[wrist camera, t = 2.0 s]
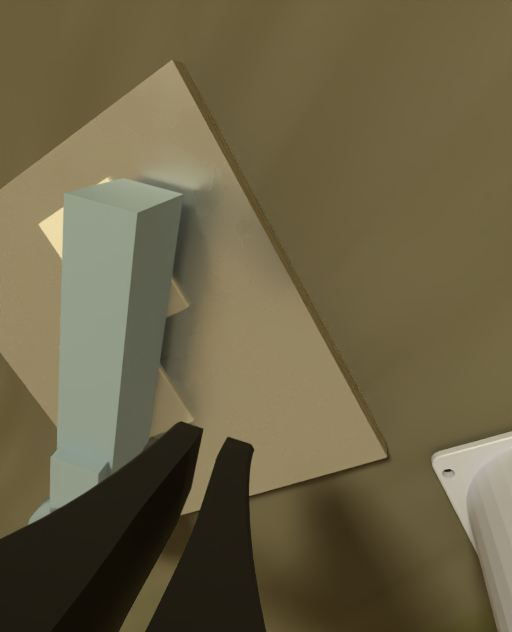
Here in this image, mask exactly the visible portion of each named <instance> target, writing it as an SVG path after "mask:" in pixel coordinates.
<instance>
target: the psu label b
mask: <svg viewBox="0 0 512 632" xmlns="http://www.w3.org/2000/svg"><path fill="white" fill-rule="evenodd" d="M59 348H60V347H59ZM193 420H194V419H193V417H192V416H191V414H190V413H189V411H188V410H187V408H186V407H185V405H184V404H183V402H182V401H181V399H180V398H179V396H178V395H177V393H176V391H175V390H174V388H173V387H172V385H171V384H170V382H169V381H168V379H167V378H166V376H165V375H164V373H163V372H162V370H161V369H160V367H159V372H158V379H157V386H156V393H155V400H154V407H153V414H152V421H151V429H150V436H149V438H150V437H152V436H155V435H158V434H160V433H163V432H166V431H168V430H169V429H170V428H171V427H172V426H174V425H175V424H176V423H178V422H180V421H182V422H185V423H190V422H192V421H193Z"/></svg>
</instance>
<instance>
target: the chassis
mask: <svg viewBox="0 0 512 632" xmlns="http://www.w3.org/2000/svg"><path fill="white" fill-rule="evenodd" d="M107 177H110V178H111V180H112V181H114V180H118V179H123V178H125V179H129V180H132V181H136V182H140V183H144V184H147V185H151V186H155V187H159V188H162V189H166V190H170V191H174V192H177V193H181V194H183V200H182V207H181V215H180V222H179V229H178V236H177V243H176V250H175V257H174V265H173V272H172V279H173V280H174V282H175V284H176V285H177V287H178V288H179V290H180V292H181V293H182V295H183V297H184V298H185V300H186V302H187V303H188V305H189V307H188V308H186V309H184V310H182V311H180V312H177V313H175V314H173V315H171V316H169V317H167V318H166V322H165V329H164V336H163V343H162V350H161V357H160V364H159V367H160V369H161V370H162V372H163V373H164V375H165V376H166V378H167V379H168V381H169V382H170V384H171V385H172V387H173V388H174V390H175V391H176V393H177V395H178V396H179V398H180V399H181V401H182V402H183V404H184V405H185V407H186V408H187V410H188V411H189V413H190V414H191V416H192V417H193V419H194V420H193V421H192V422H190V423H188V424H191V425H194V426H197V427H200V428H203V434H202V439H201V444H200V449H199V454H198V459H197V464H196V468H195V473H194V478H193V483H192V488H191V491H190V493H189V495H188V498H187V500H186V503H185V505H184V508H183V510H182V512H181V515H183V514H187V513H191V512H194V511H198V510H200V508H201V505H202V502H203V499H204V496H205V492H206V489H207V486H208V483H209V480H210V477H211V474H212V470H213V467H214V464H215V461H216V458H217V455H218V453H219V451H220V449H221V447H222V445H223V444H224V442H225V440H226V438H227V437H231V438H234V439H237V440H240V441H243V442H246V443H249V444H252V446H253V448H254V453H253V456H252V461H251V468H250V481H249V496H251V495H255V494H258V493H262V492H266V491H269V490H273V489H276V488H280V487H283V486H287V485H291V484H294V483H298V482H301V481H305V480H308V479H312V478H316V477H319V476H323V475H326V474H330V473H333V472H337V471H340V470H344V469H348V468H351V467H355V466H358V465H362V464H365V463H369V462H373V461H376V460H380V459H383V458H387V443H386V441H385V439H384V437H383V436H382V434H381V432H380V430H379V428H378V426H377V424H376V423H375V421H374V419H373V417H372V415H371V413H370V411H369V409H368V408H367V406H366V404H365V402H364V400H363V398H362V396H361V395H360V393H359V391H358V389H357V387H356V385H355V383H354V381H353V380H352V378H351V376H350V374H349V372H348V370H347V368H346V367H345V365H344V363H343V361H342V359H341V357H340V355H339V354H338V352H337V350H336V348H335V346H334V344H333V342H332V340H331V339H330V337H329V335H328V333H327V331H326V329H325V327H324V326H323V324H322V322H321V320H320V318H319V316H318V314H317V313H316V311H315V309H314V307H313V305H312V303H311V301H310V299H309V298H308V296H307V294H306V292H305V290H304V288H303V286H302V285H301V283H300V281H299V279H298V277H297V275H296V273H295V272H294V270H293V268H292V266H291V264H290V262H289V260H288V258H287V257H286V255H285V253H284V251H283V249H282V247H281V245H280V244H279V242H278V240H277V238H276V236H275V234H274V232H273V231H272V229H271V227H270V225H269V223H268V221H267V219H266V217H265V216H264V214H263V212H262V210H261V208H260V206H259V204H258V203H257V201H256V199H255V197H254V195H253V193H252V191H251V190H250V188H249V186H248V184H247V182H246V180H245V178H244V176H243V175H242V173H241V171H240V169H239V167H238V165H237V163H236V162H235V160H234V158H233V156H232V154H231V152H230V150H229V149H228V147H227V145H226V143H225V141H224V139H223V137H222V135H221V134H220V132H219V130H218V128H217V126H216V124H215V122H214V121H213V119H212V117H211V115H210V113H209V111H208V109H207V108H206V106H205V104H204V102H203V100H202V98H201V96H200V94H199V93H198V91H197V89H196V87H195V85H194V83H193V81H192V80H191V78H190V76H189V74H188V72H187V70H186V68H185V67H184V65H183V63H181V62H178V61H174V60H171V61H170V62H169V63H167V64H166V65H165V66H163V67H162V68H161V69H159V70H158V71H157V72H155V73H154V74H153V75H151V76H150V77H149V78H147V79H146V80H145V81H143V82H142V83H141V84H139V85H138V86H137V87H135V88H134V89H133V90H132V91H130V92H129V93H128V94H126V95H125V96H124V97H122V98H121V99H120V100H118V101H117V102H116V103H114V104H113V105H112V106H110V107H109V108H108V109H106V110H105V111H104V112H102V113H101V114H100V115H98V116H97V117H96V118H94V119H93V120H92V121H90V122H89V123H88V124H86V125H85V126H84V127H82V128H81V129H80V130H78V131H77V132H76V133H74V134H73V135H72V136H71V137H69V138H68V139H67V140H65V141H64V142H63V143H61V144H60V145H59V146H57V147H56V148H55V149H53V150H52V151H51V152H49V153H48V154H47V155H45V156H44V157H43V158H41V159H40V160H39V161H37V162H36V163H35V164H33V165H32V166H31V167H29V168H28V169H27V170H25V171H24V172H23V173H21V174H20V175H19V176H17V177H16V178H15V179H13V180H12V181H11V182H10V183H8V184H7V185H6V186H4V187H3V188H2V189H0V353H1V354H2V355H3V357H4V358H5V359H6V361H7V362H8V363H9V364H10V366H11V367H12V368H13V370H14V371H15V372H16V374H17V375H18V376H19V378H20V379H21V380H22V382H23V383H24V384H25V386H26V387H27V388H28V390H29V391H30V392H31V394H32V395H33V396H34V398H35V399H36V400H37V402H38V403H39V404H40V405H41V407H42V408H43V409H44V411H45V412H46V413H47V415H48V416H49V417H50V419H51V420H52V421H53V423H54V424H55V425H56V427H57V428H58V391H59V355H60V348H59V347H60V319H61V282H62V259H61V257H60V256H59V254H58V253H57V251H56V250H55V248H54V247H53V245H52V244H51V242H50V241H49V239H48V238H47V236H46V235H45V233H44V232H43V231H42V229H41V228H40V226H39V225H38V224H39V223H41V222H42V221H44V220H45V219H47V218H48V217H50V216H51V215H53V214H54V213H55V212H57V211H58V210H60V209H61V208H63V207H64V193H65V192H69V191H73V190H77V189H81V188H85V187H89V186H94V185H97V184H98V183H100V182H101V181H103V180H104V179H106V178H107ZM166 432H167V431H166ZM166 432H163V433H160V434H158V435H155V436H152V437H150V438H149V441H148V443H147V444H146V445H145V447H144V448H143V450H142V451H141V453H142V452H143V451H144V450H145V449H147V448H148V447H149V446H150V445H151V444H153V443H154V442H155V441H156V440H158V439H159V438H160V437H161V436H162V435H163V434H165V433H166Z"/></svg>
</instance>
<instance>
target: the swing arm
mask: <svg viewBox="0 0 512 632" xmlns="http://www.w3.org/2000/svg"><path fill="white" fill-rule="evenodd" d="M182 200H183V194H181V193H177V192H174V191H170V190H166V189H162V188H159V187H155V186H151V185H147V184H144V183H140V182H136V181H132V180H129V179H125V178H123V179H118V180H114V181H110V182H106V183H102V184H98V185H94V186H89V187H85V188H81V189H77V190H73V191H69V192H65V193H64V209H63V246H62V282H61V319H60V355H59V391H58V428H57V451H56V452H55V453H54V454H53V455H52V456H51V466H50V497H49V498H47V499H46V500H45V501H44V503H43V504H42V505H41V506H40V507H39V508H38V510H37V511H36V512H35V513H34V514H33V516H32V517H31V518H30V520H29V524H31V523H33V522H35V521H37V520H39V519H41V518H43V517H44V516H46V515H48V514H50V513H51V512H53V511H55V510H57V509H59V508H60V507H62V506H64V505H65V504H67V503H69V502H70V501H72V500H74V499H75V498H77V497H79V496H80V495H82V494H83V493H85V492H87V491H88V490H90V489H91V488H93V487H94V486H96V485H97V484H98V483H100V482H101V481H103V480H104V479H106V478H107V477H109V476H110V475H112V474H113V473H115V472H116V471H118V470H119V469H120V468H122V467H123V466H124V465H126V464H127V463H128V462H130V461H131V460H132V459H134V458H135V457H136V456H138V455H139V454H140V453H141V451H142V450H143V448H144V447H145V445H146V444H147V443H148V441H149V436H150V429H151V421H152V414H153V407H154V400H155V393H156V386H157V379H158V372H159V364H160V357H161V350H162V343H163V336H164V329H165V322H166V314H167V307H168V300H169V293H170V286H171V279H172V272H173V265H174V257H175V250H176V243H177V236H178V229H179V222H180V215H181V207H182ZM29 524H28V525H29Z"/></svg>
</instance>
